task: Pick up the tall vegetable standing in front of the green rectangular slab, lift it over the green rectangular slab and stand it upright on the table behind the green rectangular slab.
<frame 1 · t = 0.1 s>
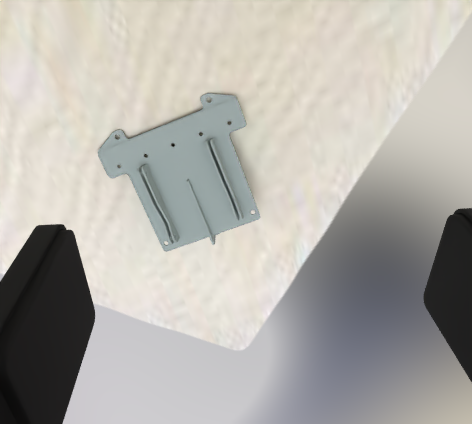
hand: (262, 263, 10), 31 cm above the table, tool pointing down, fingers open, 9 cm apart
metal bracket: (191, 173, 44), on the table
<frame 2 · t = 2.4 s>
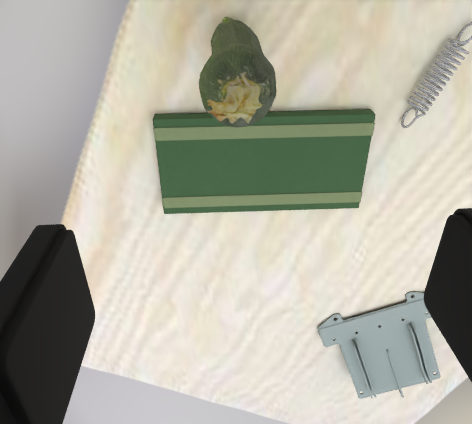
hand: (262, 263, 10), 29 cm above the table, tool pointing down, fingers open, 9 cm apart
metal bracket: (381, 337, 56), on the table
vegetable: (230, 42, 35), on the table
green rectangular slab: (262, 160, 40), on the table
spring: (430, 74, 37), on the table
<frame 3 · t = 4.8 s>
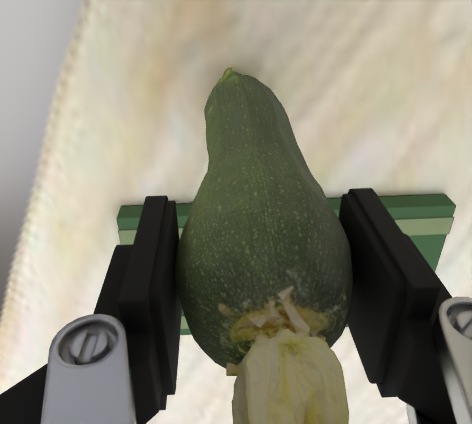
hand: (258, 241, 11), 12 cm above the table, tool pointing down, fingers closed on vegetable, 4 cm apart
vegetable: (235, 102, 22), on the table, touching gripper
green rectangular slab: (281, 263, 28), on the table
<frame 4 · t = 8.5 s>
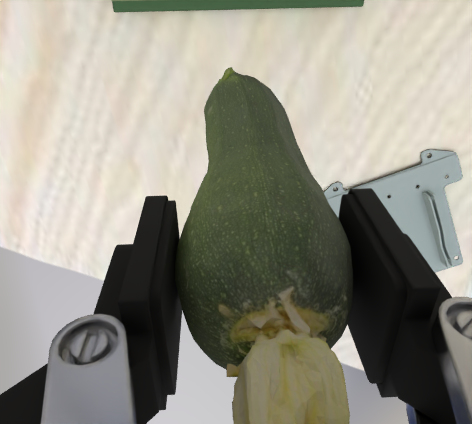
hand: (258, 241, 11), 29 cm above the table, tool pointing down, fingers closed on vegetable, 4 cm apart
metal bracket: (390, 220, 46), on the table
vegetable: (235, 102, 22), point 16 cm above the table, touching gripper
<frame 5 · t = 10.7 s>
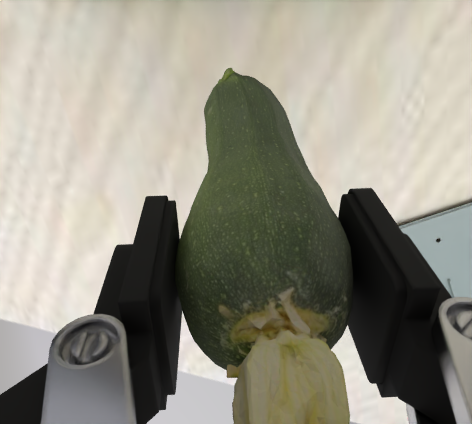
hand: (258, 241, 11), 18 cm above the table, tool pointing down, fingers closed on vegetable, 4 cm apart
metal bracket: (435, 265, 37), on the table
vegetable: (234, 103, 22), point 6 cm above the table, touching gripper
when the fingers open (12 cm above the table, at t = 12.4 s): vegetable stays where it is, on the table.
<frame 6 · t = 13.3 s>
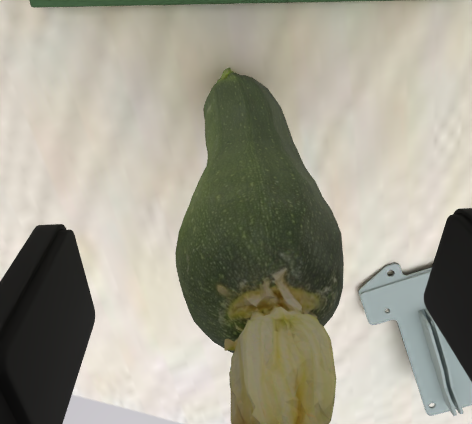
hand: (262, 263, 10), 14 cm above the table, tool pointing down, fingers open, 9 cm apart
metal bracket: (464, 309, 32), on the table
vegetable: (233, 102, 23), on the table
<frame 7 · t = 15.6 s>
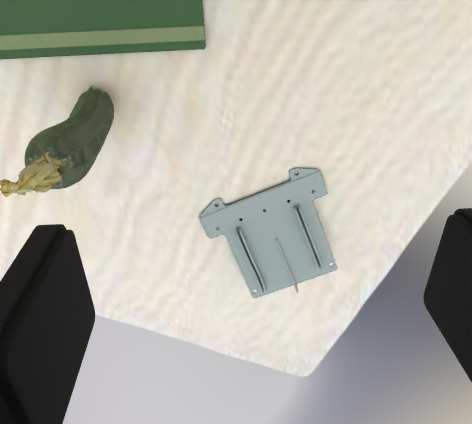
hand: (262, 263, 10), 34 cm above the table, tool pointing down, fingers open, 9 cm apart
metal bracket: (275, 230, 51), on the table
vegetable: (101, 103, 42), on the table
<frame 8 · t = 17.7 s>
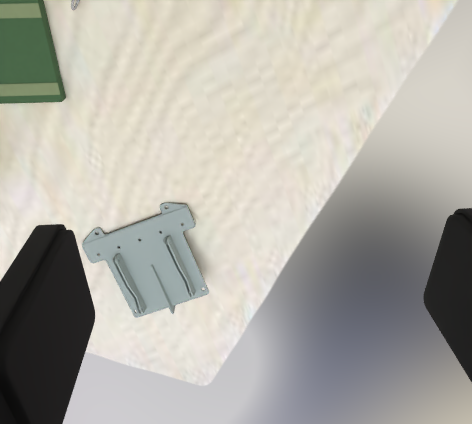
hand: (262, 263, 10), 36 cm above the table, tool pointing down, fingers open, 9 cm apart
metal bracket: (156, 256, 56), on the table
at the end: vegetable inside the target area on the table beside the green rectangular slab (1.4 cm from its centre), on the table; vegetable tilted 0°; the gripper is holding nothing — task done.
